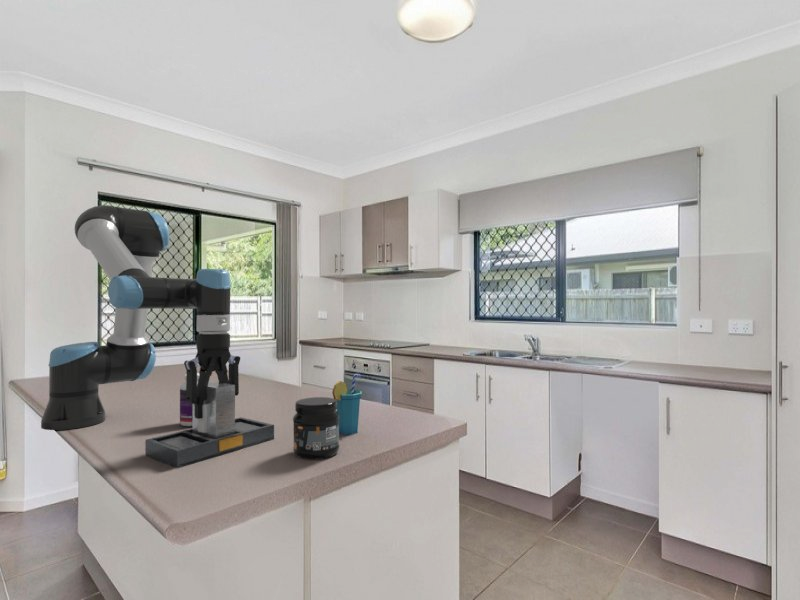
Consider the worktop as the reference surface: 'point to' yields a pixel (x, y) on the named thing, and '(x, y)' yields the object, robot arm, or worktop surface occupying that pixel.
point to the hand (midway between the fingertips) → (213, 428)
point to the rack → (206, 443)
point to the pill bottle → (186, 406)
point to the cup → (347, 406)
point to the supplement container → (316, 428)
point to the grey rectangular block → (218, 411)
